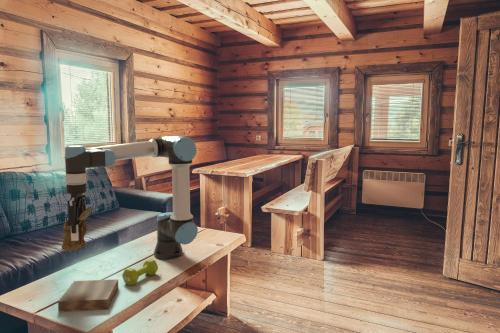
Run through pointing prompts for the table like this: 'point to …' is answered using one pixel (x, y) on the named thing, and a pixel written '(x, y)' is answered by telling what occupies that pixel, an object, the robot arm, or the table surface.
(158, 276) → the table surface
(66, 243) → the wooden mug
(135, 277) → the dumbbell
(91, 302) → the walnut stand
